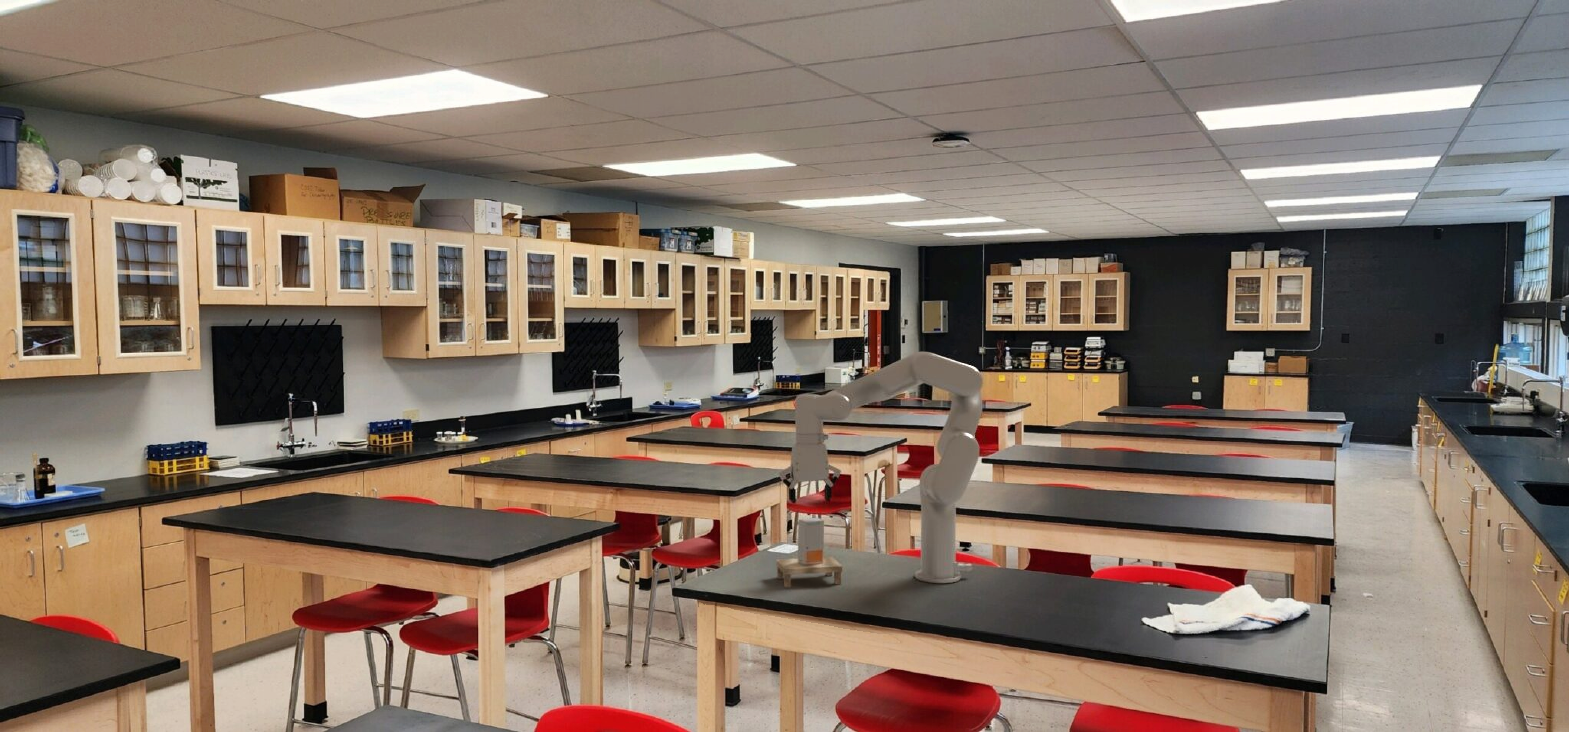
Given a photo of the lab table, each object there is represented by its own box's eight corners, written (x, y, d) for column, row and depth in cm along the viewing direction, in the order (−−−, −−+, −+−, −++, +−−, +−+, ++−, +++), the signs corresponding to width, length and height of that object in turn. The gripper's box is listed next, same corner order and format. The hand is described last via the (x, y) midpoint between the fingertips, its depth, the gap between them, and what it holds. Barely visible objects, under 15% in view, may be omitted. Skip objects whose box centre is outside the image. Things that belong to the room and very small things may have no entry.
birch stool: (831, 574, 267) (831, 556, 267) (842, 584, 256) (842, 566, 256) (776, 577, 264) (776, 559, 263) (784, 587, 253) (784, 569, 253)
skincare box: (804, 565, 257) (804, 521, 256) (797, 562, 260) (797, 518, 260) (824, 563, 259) (824, 519, 259) (816, 559, 263) (817, 517, 263)
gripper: (836, 436, 264) (837, 497, 265) (775, 439, 260) (776, 500, 261) (843, 439, 257) (844, 502, 257) (781, 442, 253) (782, 505, 254)
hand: (810, 501), depth 259 cm, fingers open, 9 cm apart
